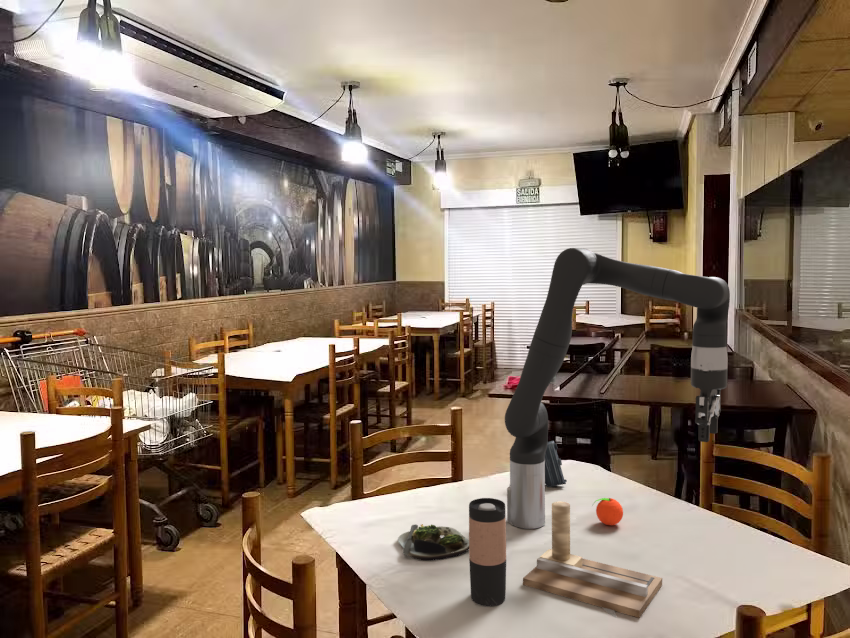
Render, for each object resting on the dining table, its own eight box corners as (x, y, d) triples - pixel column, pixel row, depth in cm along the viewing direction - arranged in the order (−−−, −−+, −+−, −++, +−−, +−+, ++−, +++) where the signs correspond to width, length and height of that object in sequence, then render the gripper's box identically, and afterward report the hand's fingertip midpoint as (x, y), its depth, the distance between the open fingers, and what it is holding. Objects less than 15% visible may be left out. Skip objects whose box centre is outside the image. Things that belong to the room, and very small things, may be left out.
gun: (507, 438, 210) (553, 429, 206) (521, 489, 210) (567, 481, 206) (505, 440, 208) (551, 431, 203) (519, 492, 208) (566, 483, 203)
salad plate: (384, 536, 171) (383, 518, 170) (448, 525, 177) (447, 509, 176) (408, 567, 152) (407, 548, 152) (478, 554, 158) (478, 536, 158)
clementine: (590, 527, 173) (590, 500, 172) (593, 517, 179) (593, 492, 179) (621, 531, 170) (621, 504, 169) (624, 521, 176) (624, 495, 176)
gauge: (539, 565, 148) (539, 504, 147) (550, 556, 152) (550, 497, 151) (573, 574, 143) (573, 511, 142) (583, 564, 148) (583, 503, 147)
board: (522, 584, 142) (522, 569, 142) (553, 557, 155) (553, 543, 155) (639, 618, 128) (639, 600, 128) (662, 584, 141) (662, 569, 141)
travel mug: (467, 590, 140) (465, 498, 139) (502, 588, 141) (501, 496, 139) (472, 608, 133) (471, 511, 131) (510, 606, 133) (509, 509, 132)
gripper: (698, 361, 156) (697, 428, 157) (683, 369, 144) (682, 442, 145) (733, 363, 151) (731, 432, 152) (720, 371, 140) (719, 446, 141)
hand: (707, 437), depth 149 cm, fingers open, 8 cm apart
